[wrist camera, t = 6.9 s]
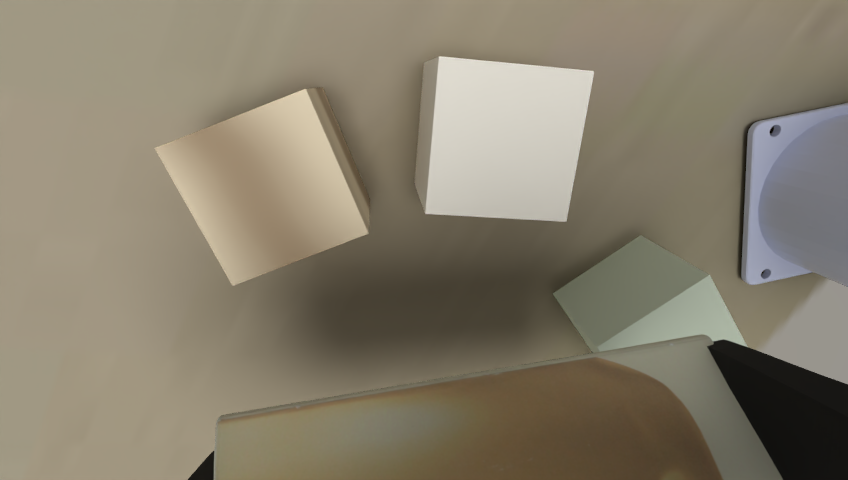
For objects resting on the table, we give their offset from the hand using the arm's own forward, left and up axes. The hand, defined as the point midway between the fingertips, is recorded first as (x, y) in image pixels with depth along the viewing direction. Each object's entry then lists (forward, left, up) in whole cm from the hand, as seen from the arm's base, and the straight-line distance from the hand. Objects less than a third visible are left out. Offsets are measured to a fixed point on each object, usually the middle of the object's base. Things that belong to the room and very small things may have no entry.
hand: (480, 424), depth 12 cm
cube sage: (-9, +4, -10) cm, 14 cm away
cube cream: (-3, -6, -10) cm, 12 cm away
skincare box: (-6, +2, 0) cm, 7 cm away
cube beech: (+5, -6, -10) cm, 13 cm away
